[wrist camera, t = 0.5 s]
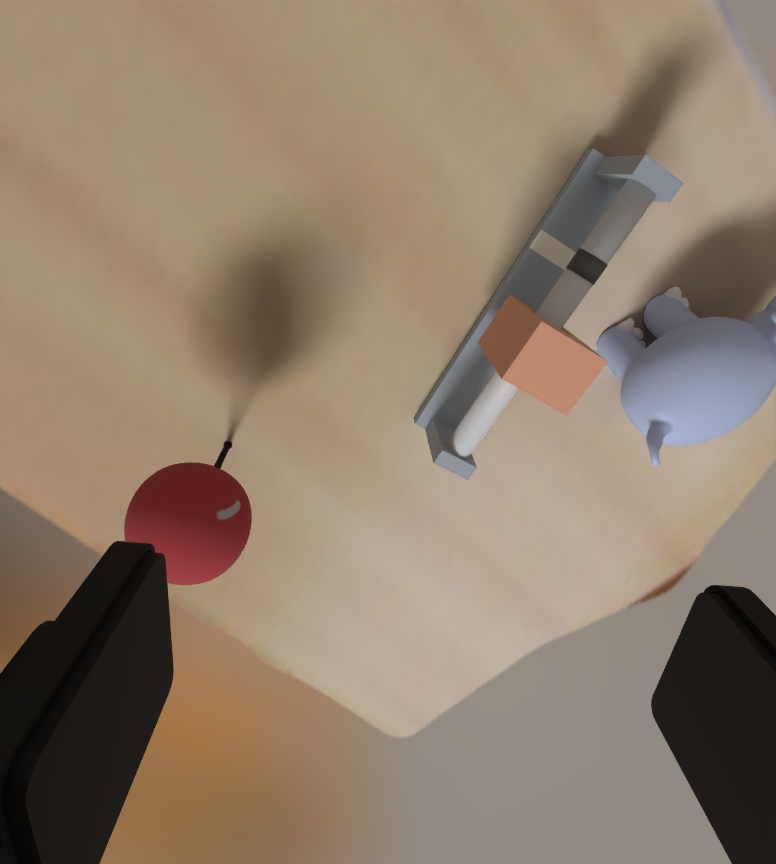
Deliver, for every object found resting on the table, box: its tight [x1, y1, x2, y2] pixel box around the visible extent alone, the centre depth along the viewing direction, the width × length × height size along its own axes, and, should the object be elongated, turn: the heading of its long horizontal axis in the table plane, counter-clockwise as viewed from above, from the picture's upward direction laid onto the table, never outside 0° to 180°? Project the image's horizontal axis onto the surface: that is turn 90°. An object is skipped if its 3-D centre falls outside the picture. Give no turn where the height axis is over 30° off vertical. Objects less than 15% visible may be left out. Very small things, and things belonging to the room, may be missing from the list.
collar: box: [478, 294, 608, 415], centre depth 35 cm, size 5×4×8 cm
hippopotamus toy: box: [597, 286, 776, 466], centre depth 39 cm, size 11×15×10 cm
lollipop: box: [124, 442, 252, 585], centre depth 38 cm, size 8×8×15 cm
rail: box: [414, 148, 684, 480], centre depth 38 cm, size 5×23×7 cm, turn 150°
